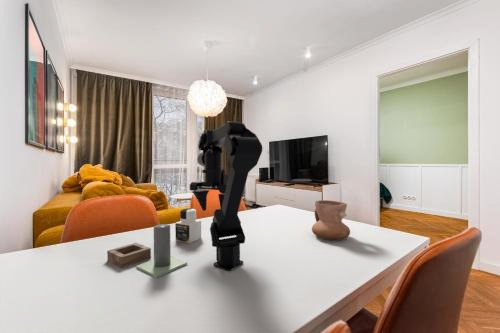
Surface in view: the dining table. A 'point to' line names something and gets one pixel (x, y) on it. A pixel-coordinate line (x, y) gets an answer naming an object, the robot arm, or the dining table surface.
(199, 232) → the medicine bottle
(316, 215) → the ceramic jug
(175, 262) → the green mat
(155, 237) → the plug
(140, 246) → the walnut collar
